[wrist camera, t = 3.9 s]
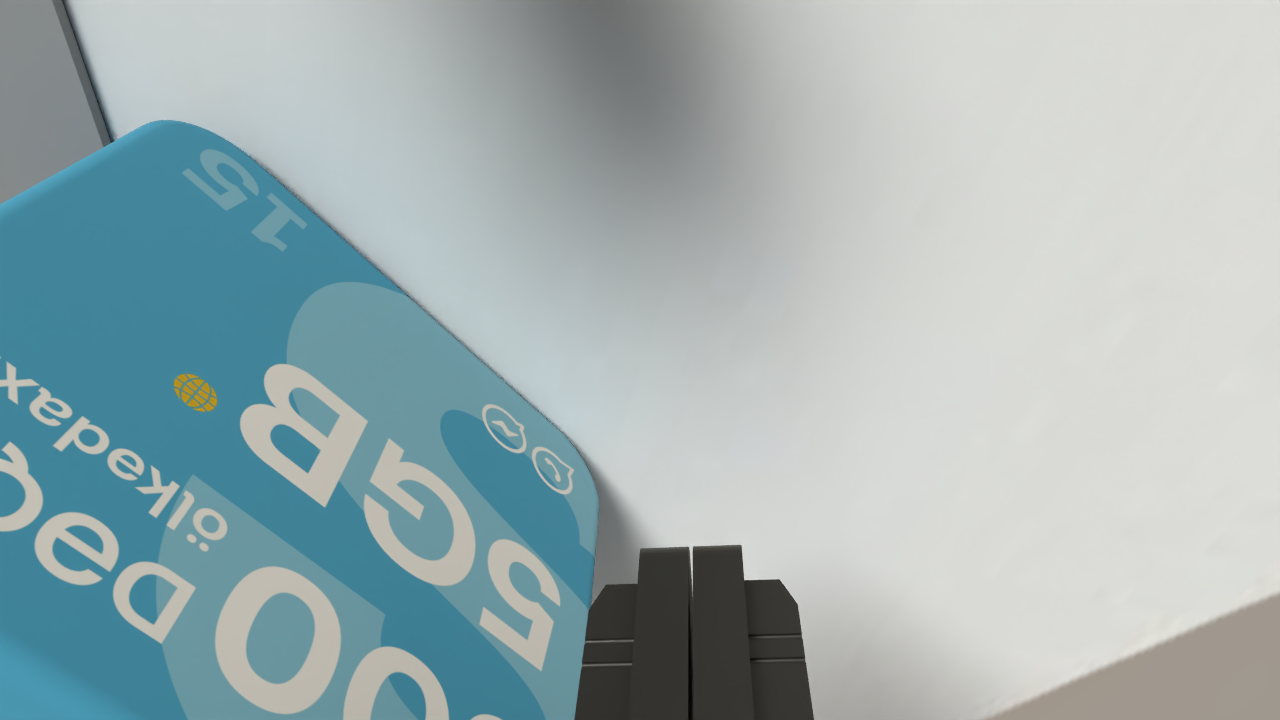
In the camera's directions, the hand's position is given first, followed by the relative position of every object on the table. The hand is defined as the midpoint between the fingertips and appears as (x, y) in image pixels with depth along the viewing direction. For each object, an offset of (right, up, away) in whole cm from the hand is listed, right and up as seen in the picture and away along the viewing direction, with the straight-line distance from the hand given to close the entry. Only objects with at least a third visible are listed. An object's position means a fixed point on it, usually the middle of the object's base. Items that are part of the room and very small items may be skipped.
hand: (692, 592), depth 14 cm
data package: (-7, +4, +8) cm, 11 cm away
